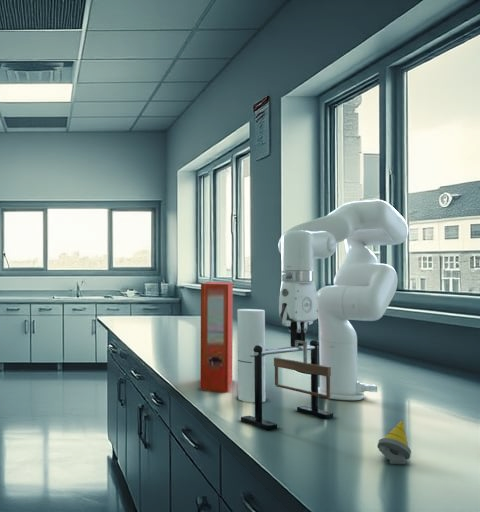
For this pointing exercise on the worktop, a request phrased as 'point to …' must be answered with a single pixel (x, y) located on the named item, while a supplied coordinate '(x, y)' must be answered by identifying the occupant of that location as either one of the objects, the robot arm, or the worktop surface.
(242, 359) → the cylindrical container
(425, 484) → the worktop surface
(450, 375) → the worktop surface
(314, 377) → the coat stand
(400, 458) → the yellow grey cone
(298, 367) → the brown clothes hanger
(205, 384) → the file binder
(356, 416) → the worktop surface
